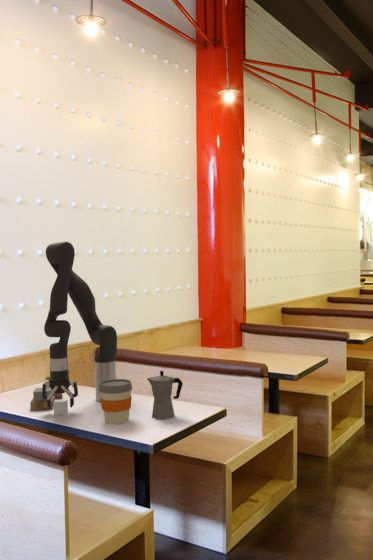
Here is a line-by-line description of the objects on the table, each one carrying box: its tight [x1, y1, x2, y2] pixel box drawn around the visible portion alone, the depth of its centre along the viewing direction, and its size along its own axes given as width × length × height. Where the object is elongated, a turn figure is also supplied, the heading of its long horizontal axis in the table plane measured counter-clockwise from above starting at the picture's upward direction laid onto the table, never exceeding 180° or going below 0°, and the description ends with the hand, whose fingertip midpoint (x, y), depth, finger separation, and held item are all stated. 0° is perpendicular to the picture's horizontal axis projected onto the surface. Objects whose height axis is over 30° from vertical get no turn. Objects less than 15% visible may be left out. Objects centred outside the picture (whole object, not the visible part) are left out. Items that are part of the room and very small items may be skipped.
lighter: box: [43, 376, 64, 400], centre depth 255 cm, size 8×3×10 cm, turn 84°
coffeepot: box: [146, 370, 183, 420], centre depth 220 cm, size 15×9×18 cm, turn 66°
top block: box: [53, 398, 69, 416], centre depth 230 cm, size 5×5×5 cm
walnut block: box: [29, 396, 56, 412], centre depth 240 cm, size 9×9×4 cm
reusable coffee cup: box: [99, 378, 133, 425], centre depth 216 cm, size 13×13×15 cm
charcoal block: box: [32, 387, 53, 401], centre depth 240 cm, size 7×7×4 cm
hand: (60, 407), depth 230 cm, fingers open, 8 cm apart
